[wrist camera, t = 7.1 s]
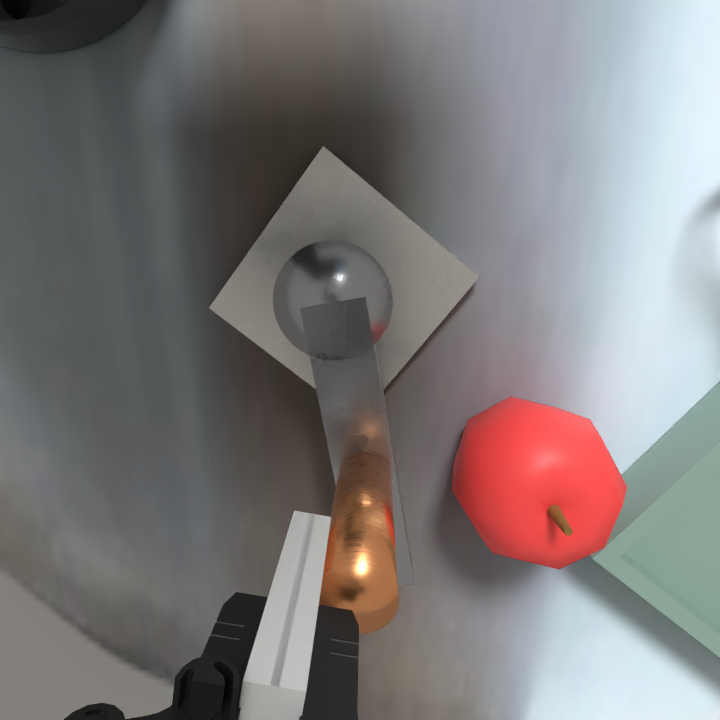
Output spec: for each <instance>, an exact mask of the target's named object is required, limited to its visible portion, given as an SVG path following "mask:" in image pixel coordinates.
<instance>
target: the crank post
mask: <svg viewBox="0 0 720 720" xmlns="http://www.w3.org/2000/svg"><path fill="white" fill-rule="evenodd" d="M326 240H338V241H344V242H348V243H351V244H354V245H357V246H359V247H361V248H363V249H364V250H366V251H368V252H369V253H370V254H371V255H373V256H374V257H375V258H376V259H377V260H378V262H379V263H380V264H381V266H382V267H383V269H384V271H385V272H386V274H387V277H388V279H389V282H390V285H391V290H392V297H393V307H392V314H391V318H390V321H389V324H388V326H387V328H386V330H385V332H384V333H383V335H382V337H381V338H380V339H379V340H378V341H377V343H376V350H377V356H378V362H379V368H380V374H381V380H382V386H383V390H384V389H385V388H386V387H387V385H388V384H389V383H390V382H391V381H392V379H393V378H394V377H395V376H396V375H397V374H398V372H399V371H400V370H401V369H402V368H403V367H404V365H405V364H406V363H407V362H408V361H409V359H410V358H411V357H412V356H413V355H414V354H415V352H416V351H417V350H418V349H419V348H420V346H421V345H422V344H423V343H424V342H425V341H426V339H427V338H428V337H429V336H430V335H431V334H432V332H433V331H434V330H435V329H436V328H437V326H438V325H439V324H440V323H441V322H442V321H443V319H444V318H445V317H446V316H447V315H448V313H449V312H450V311H451V310H452V309H453V308H454V306H455V305H456V304H457V303H458V302H459V301H460V299H461V298H462V297H463V296H464V295H465V293H466V292H467V291H468V290H469V289H470V288H471V286H472V285H473V284H474V283H475V282H476V280H477V279H478V278H479V276H478V275H476V274H475V273H474V272H473V271H472V270H470V269H469V268H468V267H467V266H466V265H464V264H463V263H462V262H461V261H460V260H459V259H457V258H456V257H455V256H454V255H453V254H451V253H450V252H449V251H448V250H447V249H445V248H444V247H443V246H442V245H441V244H439V243H438V242H437V241H436V240H435V239H434V238H432V237H431V236H430V235H429V234H428V233H426V232H425V231H424V230H423V229H422V228H420V227H419V226H418V225H417V224H416V223H414V222H413V221H412V220H411V219H410V218H408V217H407V216H406V215H405V214H404V213H403V212H401V211H400V210H399V209H398V208H397V207H395V206H394V205H393V204H392V203H391V202H389V201H388V200H387V199H386V198H385V197H383V196H382V195H381V194H380V193H379V192H377V191H376V190H375V189H374V188H373V187H372V186H370V185H369V184H368V183H367V182H366V181H364V180H363V179H362V178H361V177H360V176H358V175H357V174H356V173H355V172H354V171H352V170H351V169H350V168H349V167H348V166H347V165H345V164H344V163H343V162H342V161H341V160H339V159H338V158H337V157H336V156H335V155H333V154H332V153H331V152H330V151H329V150H327V149H326V148H325V147H324V146H323V147H322V148H321V150H320V151H319V153H318V154H317V155H316V157H315V158H314V160H313V161H312V162H311V164H310V165H309V167H308V168H307V170H306V171H305V172H304V174H303V175H302V177H301V178H300V179H299V181H298V182H297V184H296V185H295V187H294V188H293V189H292V191H291V192H290V194H289V195H288V196H287V198H286V199H285V201H284V202H283V204H282V205H281V206H280V208H279V209H278V211H277V212H276V213H275V215H274V216H273V218H272V219H271V220H270V222H269V223H268V225H267V226H266V228H265V229H264V230H263V232H262V233H261V235H260V236H259V237H258V239H257V240H256V242H255V243H254V245H253V246H252V247H251V249H250V250H249V252H248V253H247V254H246V256H245V257H244V259H243V260H242V262H241V263H240V264H239V266H238V267H237V269H236V270H235V271H234V273H233V274H232V276H231V277H230V279H229V280H228V281H227V283H226V284H225V286H224V287H223V288H222V290H221V291H220V293H219V294H218V296H217V297H216V298H215V300H214V301H213V303H212V304H211V305H210V307H209V309H211V310H212V311H213V312H215V313H216V314H217V315H219V316H220V317H221V318H223V319H224V320H225V321H227V322H228V323H229V324H231V325H232V326H233V327H234V328H236V329H237V330H238V331H240V332H241V333H242V334H244V335H245V336H246V337H248V338H249V339H250V340H252V341H253V342H254V343H256V344H257V345H258V346H259V347H261V348H262V349H263V350H265V351H266V352H267V353H269V354H270V355H271V356H273V357H274V358H275V359H277V360H278V361H279V362H281V363H282V364H283V365H285V366H286V367H287V368H288V369H290V370H291V371H292V372H294V373H295V374H296V375H298V376H299V377H300V378H302V379H303V380H304V381H306V382H307V383H308V384H310V385H311V386H312V387H313V388H315V389H316V386H315V381H314V376H313V371H312V366H311V361H310V356H309V355H307V354H305V353H304V352H302V351H300V350H299V349H297V348H296V347H295V346H294V345H293V344H292V343H291V342H290V341H289V340H288V339H287V338H286V337H285V335H284V334H283V332H282V331H281V329H280V327H279V325H278V323H277V320H276V317H275V313H274V308H273V291H274V286H275V282H276V279H277V276H278V274H279V272H280V270H281V268H282V267H283V265H284V264H285V263H286V261H287V260H288V259H289V258H290V257H291V256H292V255H293V254H294V253H296V252H297V251H298V250H300V249H302V248H303V247H305V246H307V245H310V244H312V243H315V242H319V241H326Z"/></svg>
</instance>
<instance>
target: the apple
mask: <svg viewBox="0 0 720 720" xmlns="http://www.w3.org/2000/svg"><path fill="white" fill-rule="evenodd" d="M452 491H453V493H454V495H455V496H456V498H457V500H458V501H459V503H460V504H461V506H462V508H463V509H464V511H465V513H466V514H467V516H468V517H469V519H470V521H471V522H472V524H473V526H474V527H475V529H476V530H477V532H478V534H479V535H480V537H481V538H482V540H483V541H484V542H485V544H486V545H487V546H488V548H489V549H490V550H491V552H492V553H495V554H499V555H503V556H506V557H510V558H514V559H518V560H522V561H527V562H531V563H535V564H539V565H543V566H548V567H552V568H556V569H560V568H563V567H565V566H567V565H569V564H571V563H573V562H575V561H578V560H580V559H582V558H584V557H586V556H588V555H590V554H593V553H595V552H597V551H599V550H601V549H603V548H605V546H606V543H607V541H608V539H609V536H610V534H611V532H612V529H613V527H614V525H615V522H616V520H617V518H618V515H619V513H620V511H621V508H622V506H623V503H624V499H625V495H626V491H627V486H626V484H625V482H624V480H623V478H622V476H621V474H620V472H619V471H618V469H617V467H616V465H615V463H614V461H613V459H612V457H611V455H610V453H609V451H608V450H607V448H606V446H605V444H604V442H603V440H602V438H601V436H600V435H599V433H598V432H597V430H596V429H595V427H594V425H593V424H592V422H591V421H590V419H587V418H584V417H581V416H579V415H576V414H573V413H570V412H567V411H565V410H562V409H559V408H555V407H551V406H547V405H543V404H539V403H535V402H531V401H527V400H523V399H519V398H515V397H509V398H507V399H505V400H503V401H502V402H500V403H498V404H496V405H494V406H492V407H490V408H489V409H487V410H485V411H483V412H481V413H479V414H477V415H476V416H474V417H472V418H470V419H468V420H467V423H466V426H465V429H464V432H463V435H462V438H461V441H460V444H459V448H458V451H457V454H456V457H455V460H454V465H453V480H452Z"/></svg>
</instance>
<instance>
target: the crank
mask: <svg viewBox="0 0 720 720" xmlns="http://www.w3.org/2000/svg"><path fill="white" fill-rule="evenodd" d="M392 307H393V297H392V290H391V285H390V282H389V279H388V277H387V274H386V272H385V271H384V269H383V267H382V266H381V264H380V263H379V262H378V260H377V259H376V258H375V257H374V256H373V255H371V254H370V253H369V252H368V251H366V250H364V249H363V248H361V247H359V246H357V245H354V244H351V243H348V242H344V241H338V240H326V241H319V242H315V243H312V244H310V245H307V246H305V247H303V248H302V249H300V250H298V251H297V252H296V253H294V254H293V255H292V256H291V257H290V258H289V259H288V260H287V261H286V263H285V264H284V265H283V267H282V268H281V270H280V272H279V274H278V276H277V279H276V282H275V286H274V291H273V308H274V313H275V317H276V320H277V323H278V325H279V327H280V329H281V331H282V332H283V334H284V335H285V337H286V338H287V339H288V340H289V341H290V342H291V343H292V344H293V345H294V346H295V347H296V348H297V349H299V350H300V351H302V352H304V353H305V354H307V355H309V356H310V361H311V366H312V371H313V376H314V381H315V386H316V391H317V396H318V401H319V406H320V411H321V416H322V421H323V426H324V430H325V435H326V440H327V445H328V450H329V455H330V460H331V465H332V470H333V475H334V480H335V485H336V490H335V496H334V501H333V507H332V513H331V522H330V529H329V536H328V543H327V550H326V557H325V564H324V571H323V578H322V585H321V592H320V599H319V605H324V606H330V607H336V608H342V609H348V610H352V611H353V613H354V615H355V618H356V620H357V622H358V624H359V634H365V633H370V632H374V631H376V630H379V629H381V628H382V627H384V626H385V625H387V624H388V623H389V622H390V621H391V620H392V618H393V617H394V615H395V613H396V611H397V608H398V602H399V597H398V587H399V586H408V585H414V578H413V569H412V559H411V553H410V547H409V541H408V535H407V529H406V523H405V517H404V511H403V505H402V499H401V493H400V487H399V481H398V475H397V469H396V463H395V457H394V451H393V445H392V439H391V433H390V428H389V422H388V416H387V410H386V404H385V398H384V392H383V386H382V380H381V374H380V368H379V362H378V356H377V350H376V343H377V341H378V340H379V339H380V338H381V337H382V335H383V333H384V332H385V330H386V328H387V326H388V324H389V321H390V318H391V314H392Z"/></svg>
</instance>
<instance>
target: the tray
mask: <svg viewBox="0 0 720 720" xmlns="http://www.w3.org/2000/svg"><path fill="white" fill-rule="evenodd" d="M621 476H622V478H623V480H624V482H625V484H626V486H627V491H626V495H625V499H624V503H623V506H622V508H621V511H620V513H619V515H618V518H617V520H616V522H615V525H614V527H613V529H612V532H611V534H610V536H609V539H608V541H607V543H606V546H605V548H603V549H601V550H599V551H597V552H595V553H593V554H590V557H591V558H592V559H593V560H594V561H595V562H597V563H598V564H599V565H601V566H602V567H603V568H604V569H606V570H607V571H608V572H610V573H611V574H612V575H613V576H615V577H616V578H617V579H619V580H620V581H621V582H622V583H624V584H625V585H626V586H628V587H629V588H630V589H632V590H633V591H634V592H635V593H637V594H638V595H639V596H641V597H642V598H643V599H644V600H646V601H647V602H648V603H650V604H651V605H652V606H654V607H655V608H656V609H657V610H659V611H660V612H661V613H663V614H664V615H665V616H666V617H668V618H669V619H670V620H672V621H673V622H674V623H675V624H677V625H678V626H679V627H681V628H682V629H683V630H685V631H686V632H687V633H688V634H690V635H691V636H692V637H694V638H695V639H696V640H697V641H699V642H700V643H701V644H703V645H704V646H705V647H706V648H708V649H709V650H710V651H712V652H713V653H714V654H716V655H717V656H718V657H719V658H720V382H719V383H718V384H717V385H716V386H715V387H714V388H713V389H712V390H711V391H710V392H708V393H707V394H706V395H705V396H704V397H703V398H702V399H701V400H700V401H699V402H698V403H697V404H696V405H695V406H694V407H693V408H692V409H691V410H690V411H689V412H688V413H686V414H685V415H684V416H683V417H682V418H681V419H680V420H679V421H678V422H677V423H676V424H675V425H674V426H673V427H672V428H671V429H670V430H669V431H668V432H667V433H665V434H664V435H663V436H662V437H661V438H660V439H659V440H658V441H657V442H656V443H655V444H654V445H653V446H652V447H651V448H650V449H649V450H648V451H647V452H646V453H645V454H643V455H642V456H641V457H640V458H639V459H638V460H637V461H636V462H635V463H634V464H633V465H632V466H631V467H630V468H629V469H628V470H627V471H626V472H625V473H624V474H623V475H621Z"/></svg>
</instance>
